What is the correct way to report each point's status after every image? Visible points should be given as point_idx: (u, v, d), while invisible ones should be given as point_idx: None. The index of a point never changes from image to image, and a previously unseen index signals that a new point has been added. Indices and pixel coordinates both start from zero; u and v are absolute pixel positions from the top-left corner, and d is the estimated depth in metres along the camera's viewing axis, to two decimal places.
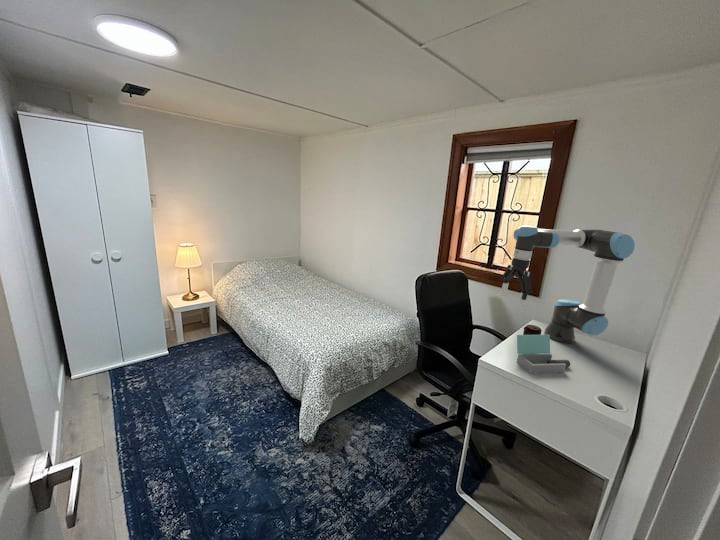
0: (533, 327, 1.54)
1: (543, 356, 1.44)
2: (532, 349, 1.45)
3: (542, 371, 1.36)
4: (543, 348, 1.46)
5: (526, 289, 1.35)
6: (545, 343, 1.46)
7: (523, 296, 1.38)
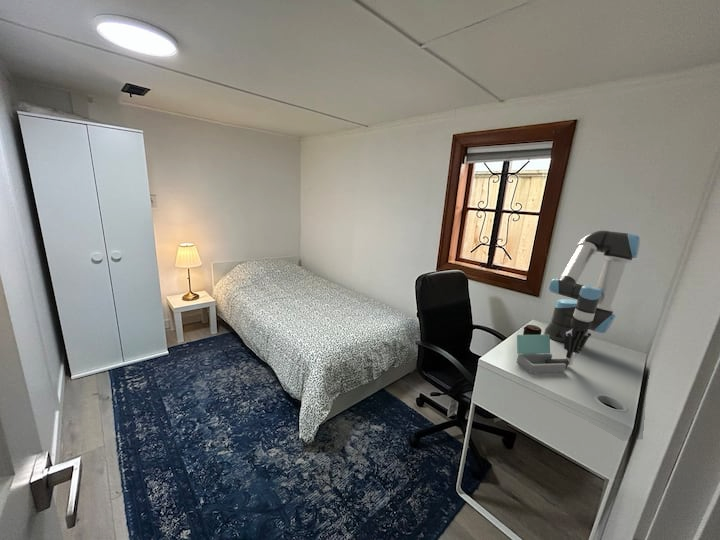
0: (533, 327, 1.54)
1: (543, 356, 1.44)
2: (532, 349, 1.45)
3: (542, 371, 1.36)
4: (543, 348, 1.46)
5: None
6: (545, 343, 1.46)
7: None
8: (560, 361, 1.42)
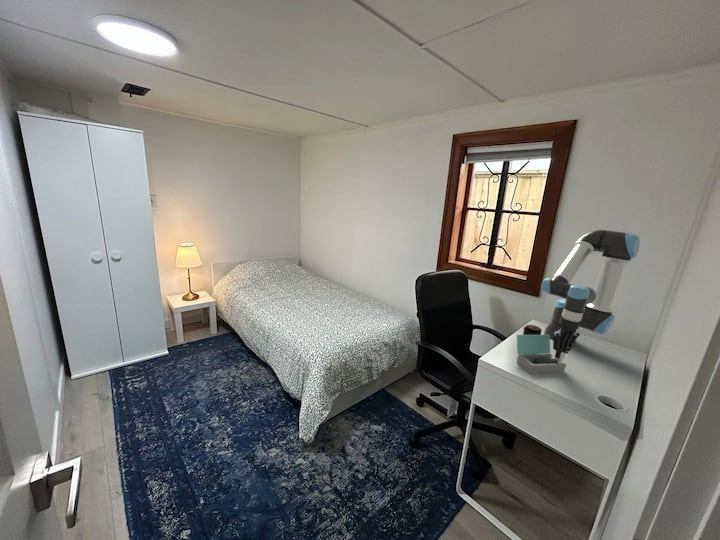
0: (533, 327, 1.54)
1: (543, 356, 1.44)
2: (532, 349, 1.45)
3: (542, 371, 1.36)
4: (543, 348, 1.46)
5: None
6: (545, 343, 1.46)
7: None
8: (549, 361, 1.41)
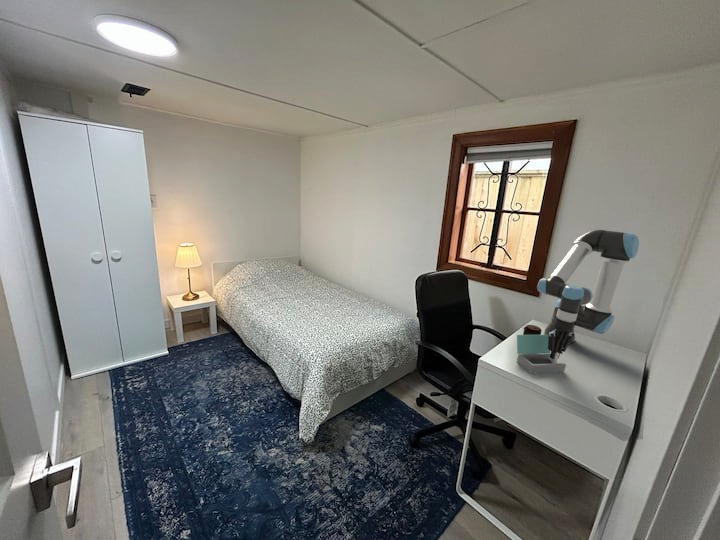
0: (533, 327, 1.54)
1: (543, 356, 1.44)
2: (532, 349, 1.45)
3: (542, 371, 1.36)
4: (543, 348, 1.46)
5: None
6: (545, 343, 1.46)
7: None
8: (543, 362, 1.40)
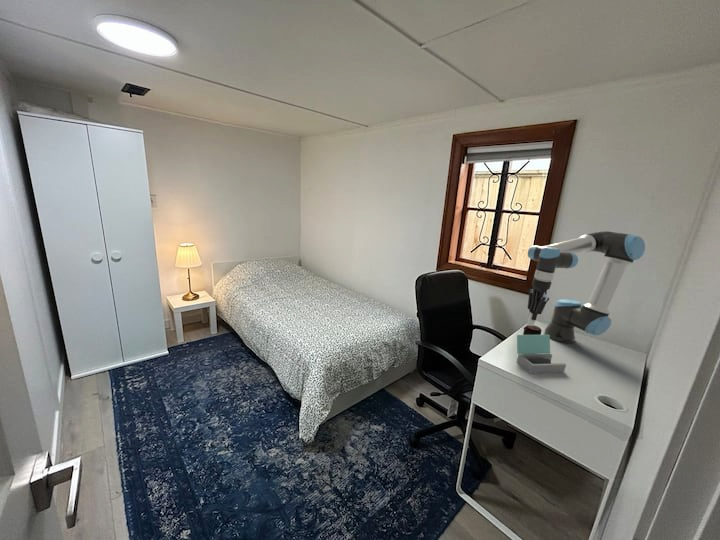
0: (533, 327, 1.54)
1: (543, 356, 1.44)
2: (532, 349, 1.45)
3: (542, 371, 1.36)
4: (543, 348, 1.46)
5: (536, 311, 1.41)
6: (545, 343, 1.46)
7: (533, 317, 1.44)
8: (541, 360, 1.41)
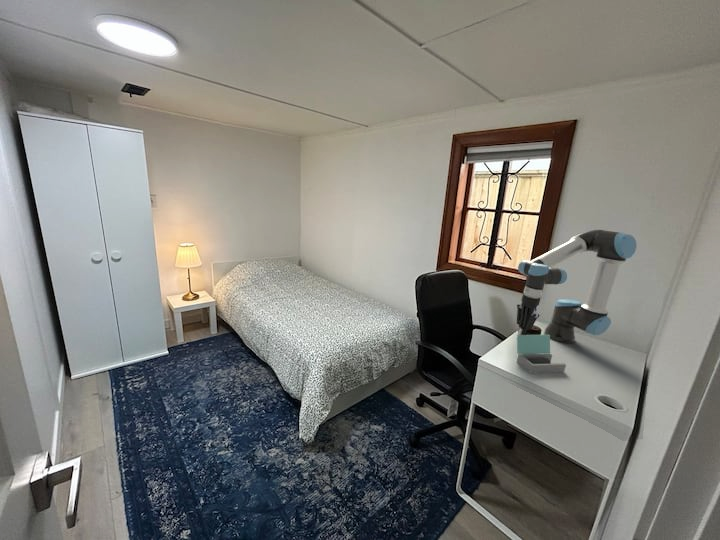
0: (533, 327, 1.54)
1: (543, 356, 1.44)
2: (532, 349, 1.45)
3: (542, 371, 1.36)
4: (543, 348, 1.46)
5: (526, 327, 1.42)
6: (545, 343, 1.46)
7: (522, 332, 1.45)
8: (540, 359, 1.42)
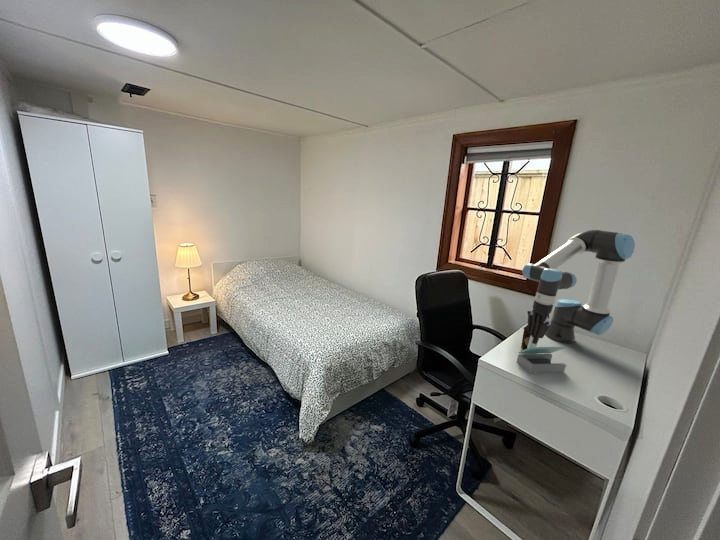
0: None
1: (543, 356, 1.44)
2: (535, 352, 1.43)
3: (542, 371, 1.36)
4: (547, 352, 1.44)
5: (538, 335, 1.35)
6: (553, 350, 1.42)
7: (534, 340, 1.38)
8: (541, 360, 1.41)
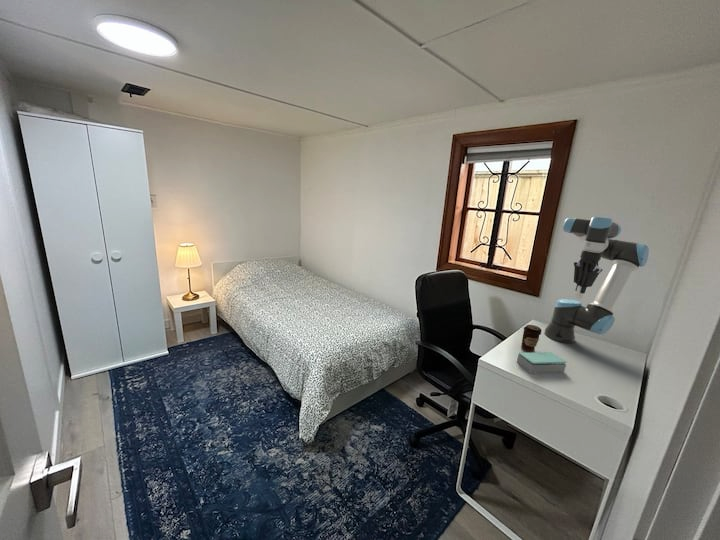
0: (533, 327, 1.54)
1: None
2: None
3: (542, 371, 1.36)
4: None
5: (587, 283, 1.37)
6: None
7: (582, 290, 1.40)
8: None
